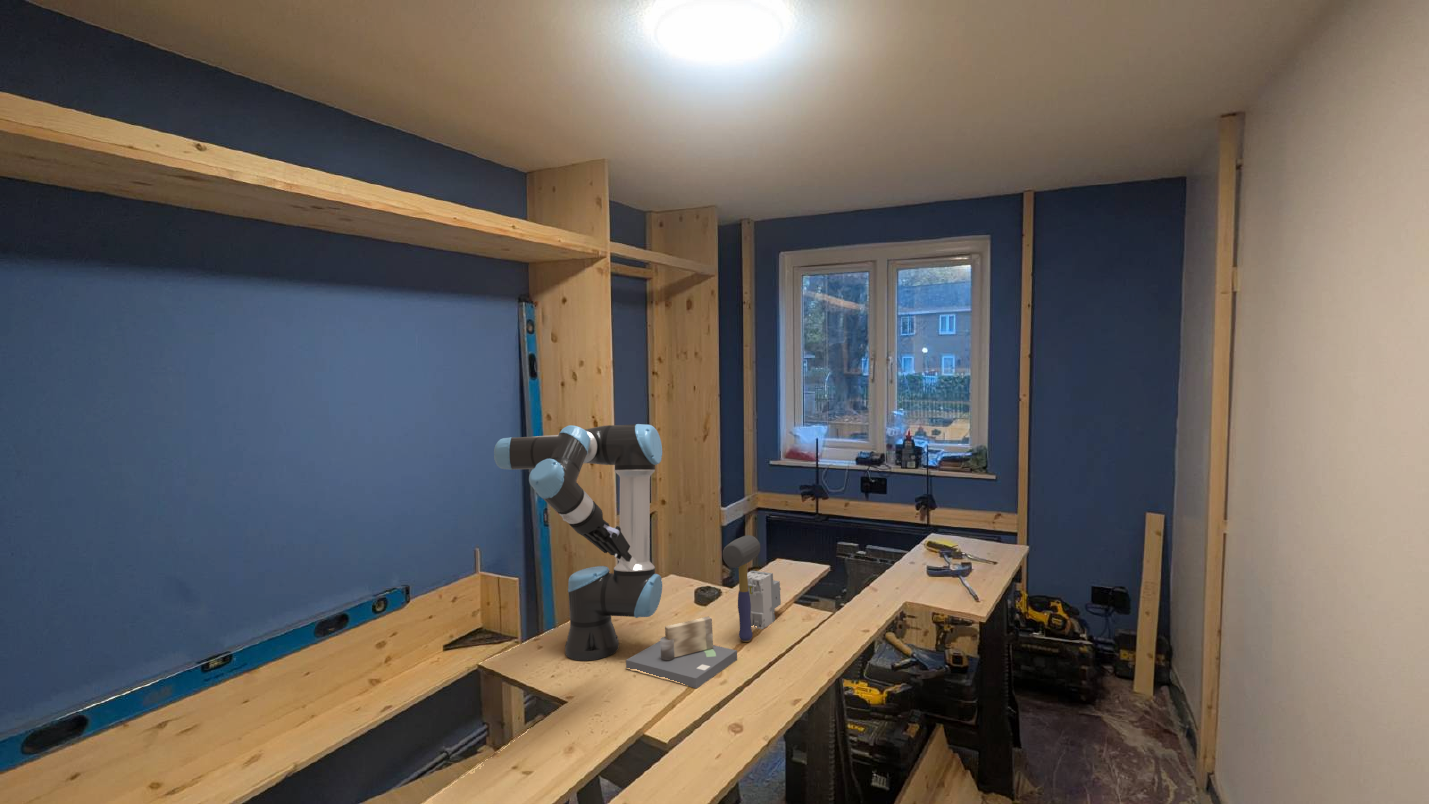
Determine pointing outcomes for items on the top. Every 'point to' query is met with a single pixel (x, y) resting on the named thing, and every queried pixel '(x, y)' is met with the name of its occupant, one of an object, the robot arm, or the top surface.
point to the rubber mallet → (742, 578)
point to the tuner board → (684, 664)
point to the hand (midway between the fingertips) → (632, 565)
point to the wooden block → (686, 638)
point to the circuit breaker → (763, 598)
